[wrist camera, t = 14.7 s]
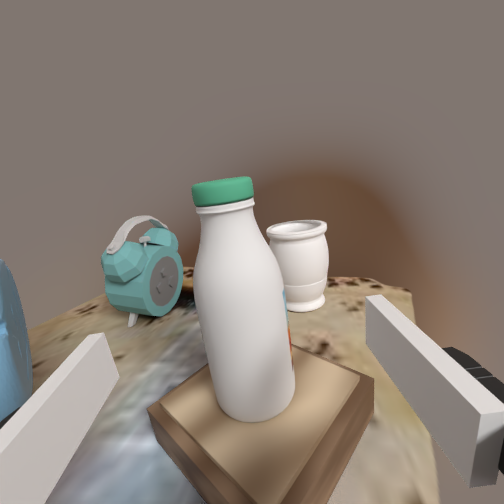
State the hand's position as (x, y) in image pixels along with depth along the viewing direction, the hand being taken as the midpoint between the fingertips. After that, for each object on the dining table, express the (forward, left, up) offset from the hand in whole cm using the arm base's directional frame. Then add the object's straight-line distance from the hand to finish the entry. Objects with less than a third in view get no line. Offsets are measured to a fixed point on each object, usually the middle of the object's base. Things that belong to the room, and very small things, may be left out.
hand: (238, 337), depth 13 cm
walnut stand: (-7, +7, -17) cm, 20 cm away
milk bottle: (-7, +6, -13) cm, 16 cm away
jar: (-18, +31, -18) cm, 39 cm away
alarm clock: (-42, +13, -18) cm, 47 cm away
